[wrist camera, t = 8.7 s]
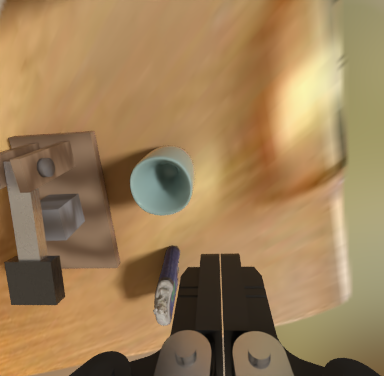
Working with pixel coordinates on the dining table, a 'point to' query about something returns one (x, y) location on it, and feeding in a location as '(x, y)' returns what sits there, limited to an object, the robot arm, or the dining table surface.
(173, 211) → the cup
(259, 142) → the dining table surface
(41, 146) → the frame
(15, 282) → the lever
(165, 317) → the flask
